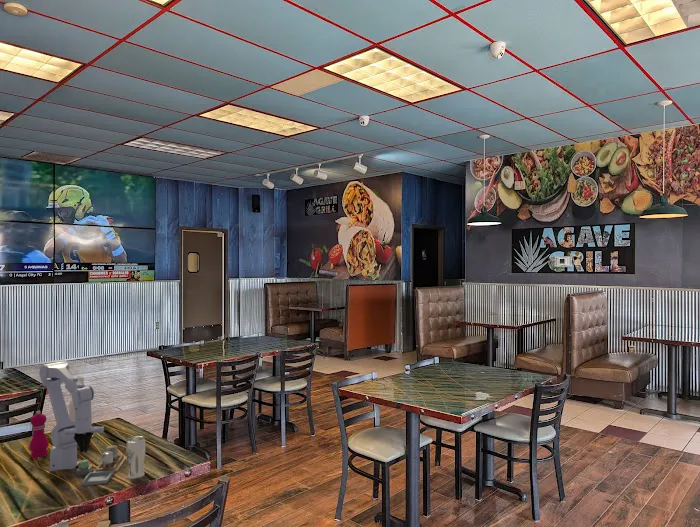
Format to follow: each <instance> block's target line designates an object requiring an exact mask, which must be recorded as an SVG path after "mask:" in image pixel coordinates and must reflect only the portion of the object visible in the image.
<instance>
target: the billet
mask: <svg viewBox="0 0 700 527" xmlns="http://www.w3.org/2000/svg"><path fill="white" fill-rule="evenodd" d="M101 462H102V468H110V467H113V452H111V451H109V452H107V451H104V452H103V453H101Z"/></svg>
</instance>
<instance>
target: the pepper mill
mask: <svg viewBox="0 0 700 527" xmlns="http://www.w3.org/2000/svg"><path fill="white" fill-rule="evenodd" d="M46 422H47V416H46V415H45V414H43V413H42V412H41V410H37V411H35V414H34V415H32V416H31V417H30V424H31V425H32V426H31V430H32V431H33V434H32V438H31V441H30V443H29V446H28V447H29V451H31V453H30V458H31V457H32V459H39V458H38V457H41V458H43V457H42V456H44V457H46V456H47V455H48V454H49V453H48V448H49V445H50V444H49V440H48V438H47V437H46V434H45V429H46ZM45 455H46V456H45Z"/></svg>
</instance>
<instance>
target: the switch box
mask: <svg viewBox="0 0 700 527" xmlns="http://www.w3.org/2000/svg"><path fill="white" fill-rule="evenodd" d="M93 466H94V465H93V464H88V467H89V468H88V469H81V465H80V466H79V467H78V468H77V469H76V472H75V473H76V474H75V475H76V476H75V477H86V476H87V475H88V473H89V472H94V471H93V470H94V468H93Z"/></svg>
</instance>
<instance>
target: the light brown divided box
mask: <svg viewBox="0 0 700 527" xmlns="http://www.w3.org/2000/svg"><path fill="white" fill-rule="evenodd" d="M109 451H111V452H113V467H110V468H102V461H101V462H100V463H99V464H98V465H97V467H96V468H95V470H94V471H93V472H101V471H112V470H114V473H118V471H119V470H120V468H121V467H122V466H123V464H124V463H125V461H126V460H127V456H124V454H118V445H116V444H115V445H109V446H107V447H106V452H109Z"/></svg>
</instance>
